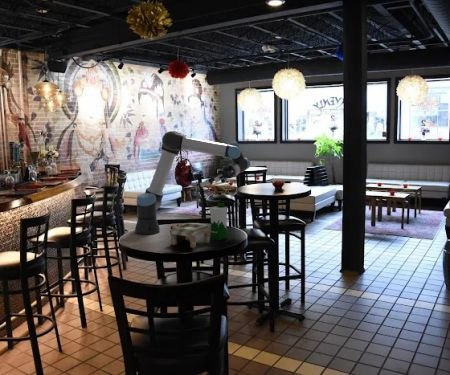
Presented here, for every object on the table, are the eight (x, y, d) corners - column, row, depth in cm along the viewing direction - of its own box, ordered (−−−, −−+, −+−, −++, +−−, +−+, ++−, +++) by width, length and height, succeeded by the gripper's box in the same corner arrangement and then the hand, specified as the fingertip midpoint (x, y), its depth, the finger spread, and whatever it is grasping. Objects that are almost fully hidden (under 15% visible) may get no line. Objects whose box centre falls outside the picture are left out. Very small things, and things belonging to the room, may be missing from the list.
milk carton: (229, 237, 266) (229, 203, 264) (219, 240, 259) (218, 205, 257) (218, 235, 272) (217, 202, 270) (207, 238, 265) (207, 204, 263)
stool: (170, 244, 251) (169, 227, 250) (187, 238, 265) (187, 222, 264) (193, 248, 243) (193, 230, 242) (210, 241, 256) (210, 225, 255)
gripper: (247, 171, 275) (224, 184, 261) (220, 180, 294) (197, 193, 280) (242, 160, 275) (218, 172, 261) (216, 170, 293) (192, 181, 279)
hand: (207, 182), depth 270 cm, fingers open, 13 cm apart
